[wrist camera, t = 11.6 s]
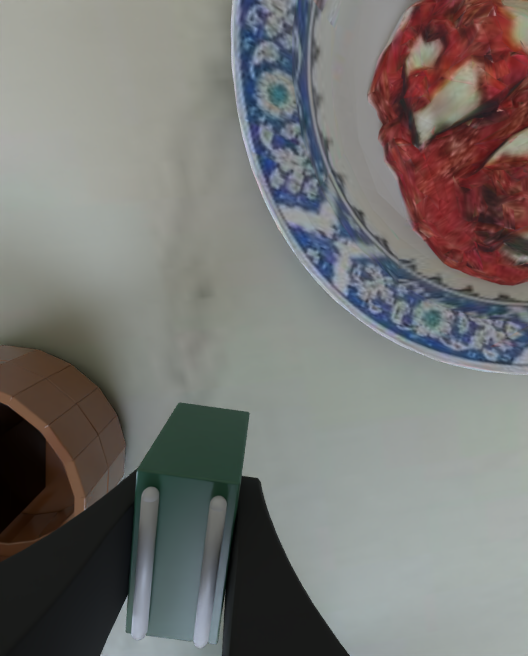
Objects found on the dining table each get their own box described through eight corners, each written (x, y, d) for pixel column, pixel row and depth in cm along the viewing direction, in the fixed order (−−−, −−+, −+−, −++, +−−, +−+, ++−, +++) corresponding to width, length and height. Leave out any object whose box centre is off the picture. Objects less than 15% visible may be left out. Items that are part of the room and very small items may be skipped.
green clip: (232, 532, 13) (214, 664, 9) (167, 523, 13) (117, 651, 9) (249, 411, 12) (239, 495, 8) (178, 401, 12) (128, 480, 8)
